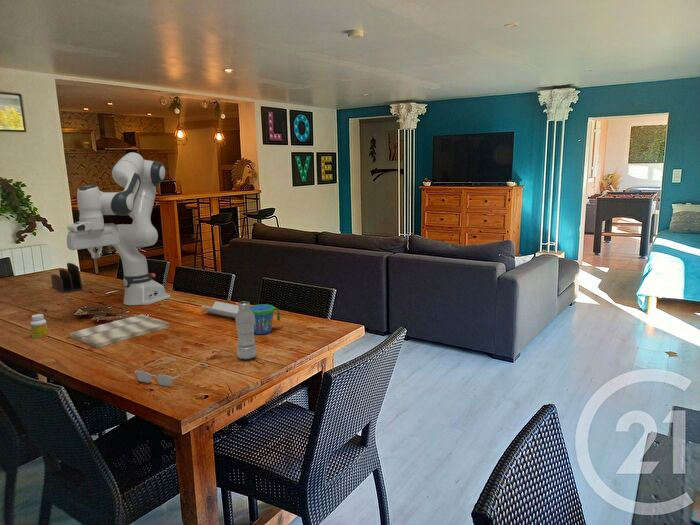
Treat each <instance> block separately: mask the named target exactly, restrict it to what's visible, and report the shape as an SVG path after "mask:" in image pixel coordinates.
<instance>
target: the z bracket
mask: <svg viewBox="0 0 700 525" xmlns="http://www.w3.org/2000/svg"><path fill="white" fill-rule="evenodd" d="M200 307H201V308H202V309H203V310H204V311H205V312H207V313H208V314H213V315H217V316H223V317H227V318H232V319H235V317H236V315H237V313H238V311H239V308H238V307H239V304H238V305H237V304H232V303H226V302H221V301H216V300H215V301H214V303H213V305H212V307H211V306H210V307H208V306H207V305H206V306H205V305H201V306H200Z"/></svg>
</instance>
